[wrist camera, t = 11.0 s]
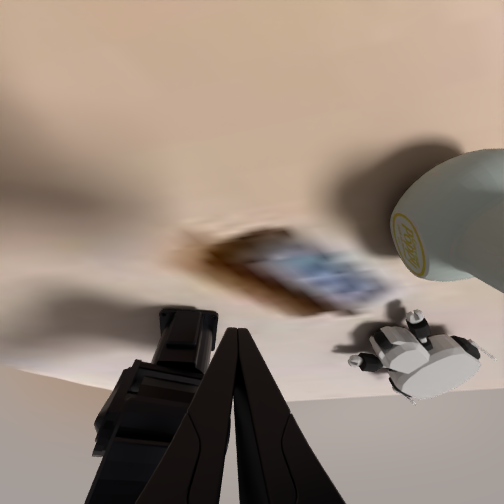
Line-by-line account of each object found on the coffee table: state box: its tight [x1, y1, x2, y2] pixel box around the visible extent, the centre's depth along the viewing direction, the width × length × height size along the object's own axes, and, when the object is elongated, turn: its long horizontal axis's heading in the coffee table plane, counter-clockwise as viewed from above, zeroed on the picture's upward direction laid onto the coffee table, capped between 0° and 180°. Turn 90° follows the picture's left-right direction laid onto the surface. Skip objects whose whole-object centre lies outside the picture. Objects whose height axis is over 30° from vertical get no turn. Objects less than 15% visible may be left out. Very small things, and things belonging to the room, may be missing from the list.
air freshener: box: [390, 149, 504, 293], centre depth 15 cm, size 11×8×10 cm
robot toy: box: [348, 309, 497, 405], centre depth 28 cm, size 12×4×15 cm
